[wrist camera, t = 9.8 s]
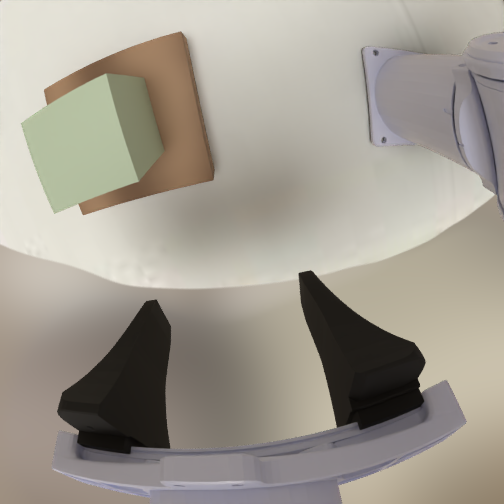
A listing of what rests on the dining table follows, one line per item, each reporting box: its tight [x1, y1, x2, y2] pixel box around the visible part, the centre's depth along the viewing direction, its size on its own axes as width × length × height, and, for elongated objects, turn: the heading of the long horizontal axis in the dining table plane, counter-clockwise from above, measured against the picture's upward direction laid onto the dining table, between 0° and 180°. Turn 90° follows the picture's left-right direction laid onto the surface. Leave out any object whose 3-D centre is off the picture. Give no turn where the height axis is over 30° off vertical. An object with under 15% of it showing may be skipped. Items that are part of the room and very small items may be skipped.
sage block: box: [21, 73, 164, 214], centre depth 12 cm, size 5×5×6 cm
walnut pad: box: [44, 32, 214, 215], centre depth 16 cm, size 10×10×3 cm
